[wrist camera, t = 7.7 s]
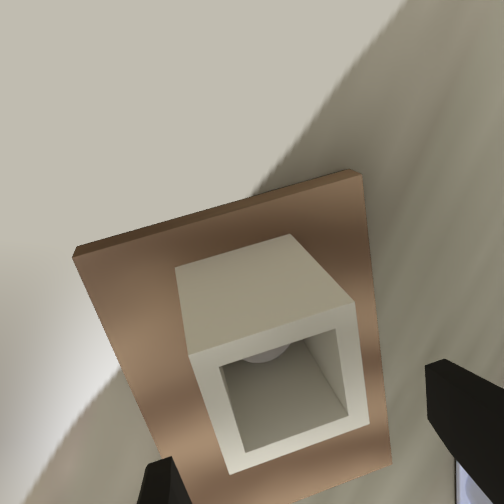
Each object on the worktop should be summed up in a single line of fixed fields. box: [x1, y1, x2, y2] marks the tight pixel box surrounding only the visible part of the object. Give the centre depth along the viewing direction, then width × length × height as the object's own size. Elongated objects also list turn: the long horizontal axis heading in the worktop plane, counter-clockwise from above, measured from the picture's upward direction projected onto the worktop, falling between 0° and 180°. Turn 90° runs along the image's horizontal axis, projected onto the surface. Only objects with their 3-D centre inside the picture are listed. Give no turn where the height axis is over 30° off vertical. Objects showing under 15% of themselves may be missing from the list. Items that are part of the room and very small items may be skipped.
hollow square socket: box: [175, 234, 370, 475], centre depth 15 cm, size 5×5×6 cm
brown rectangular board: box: [72, 169, 392, 504], centre depth 19 cm, size 18×12×4 cm, turn 12°
